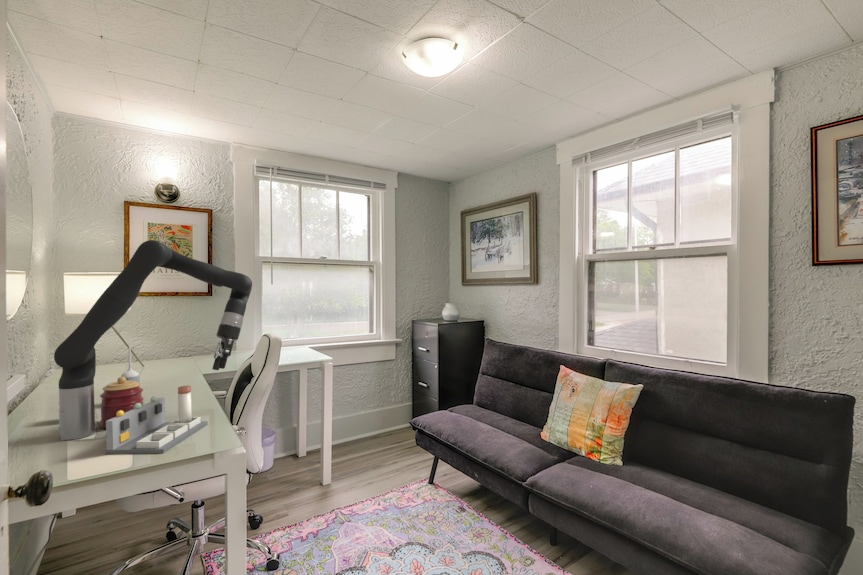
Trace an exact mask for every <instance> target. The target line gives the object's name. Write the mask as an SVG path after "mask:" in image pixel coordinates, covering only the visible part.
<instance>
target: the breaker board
mask: <svg viewBox="0 0 863 575" xmlns="http://www.w3.org/2000/svg"><path fill="white" fill-rule="evenodd" d="M134 407H135V409H132V410H130V411H128V412H126V413H124V412H123V411H122V410H120V411H118V412H117V413H116V417H114V418H112V419H109V420H107V421H106V429H105V435H106V439H105V440H106V449H105V451H104V454H105V455H121V454H122V455H123V454H124V455H127V454H131V455H132V454H164V453H166V452H168V451H170V450H171V449H172V448H174V447H176V446H177V445H179V444H180V443H182V442H183V441H185V440H186V439H188V438H189V437H191V436H192V435H194V434H196V433H197V432H199V431H200V430H201V429H203V428H205V427H206V426H208V423H209V422H208V421H205V420H203V421H201V418H202V417H201V416H192V421H191V422H190V423H179V418H177V419H176V420H174V421H166V419H167V418H166V398H165V397H157V396H154V395H153V396H152V397H150V401H149V402H147V403H145V404H144V403H143V405H141V403H136V404H135V406H134Z"/></svg>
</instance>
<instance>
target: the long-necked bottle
mask: <svg viewBox="0 0 863 575" xmlns="http://www.w3.org/2000/svg"><path fill="white" fill-rule="evenodd" d="M131 348H132V347H131V346H128V351H126V354H125V355H126V358H125V359H127V357H128V363H127V360H125V361H126V362H125V363H126V364H125V365H126V366H128V368H127V369H126V371H124V372H123V373H122V374H121V376H120V377H125V378H126V380H134V381H136V382H138V383H140V382H141V381H140V373H139V372H138V371H136V370H135V369H133V368H132V351H131V350H132V349H131ZM127 352H128V356H127ZM127 364H128V365H127ZM139 387H140V388H141V383H140V385H139Z"/></svg>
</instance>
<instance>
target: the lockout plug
mask: <svg viewBox="0 0 863 575" xmlns="http://www.w3.org/2000/svg"><path fill="white" fill-rule="evenodd" d="M177 400H178V401H177V404H178V408H177V409H178V411H177V412H178V419H179V423H190V422H191V421H192V417H193V416H192V386H191V385H182V386H178V387H177Z"/></svg>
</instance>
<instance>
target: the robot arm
mask: <svg viewBox="0 0 863 575" xmlns="http://www.w3.org/2000/svg"><path fill="white" fill-rule="evenodd" d="M157 267H159V268H165V269H169V270H172V271H173V270H174V271H177V272H180V273H183V274H185V275H188V276H189V277H192V278H194V279H196V280H199V281H202V282H204V283H207V284H209V285H212V286H215V287H219V288H221V287H226V288H228V289H231V290H230V294H229V299H228V300H227V302H226V305H225V308H224V311H223V313H222V317H221V319H220V321H219V325H218V329H217V332H216V337H218V338H219V339H221V340H220V342H217V346H216V349H215V352H214V355H213V358H214V361H213V365H212V368H211V370H213V371H214V370H215V371H219V370H220V369H221V370H222V369H223V370H224V369H225V367H226V364H227V362H228V361H227V360H228V359H229V358H230V357H231V354H232V350H233V346H234V343H235V341H238V340H239V337H240V334H241V330H242V327H243V322H244V316H245V314H246V309H247V303H248V301H249V298H250V295H251V292H252V289H253V288H252V287H253V281H252V279H251V278H250V277H249V276H247V275H246V274H244V273H240V272H236V271H232V270H225V269H224V268H221V267H219V266H216V265H213V264H211V263H208V262H205V261H200V260H198V259H195V258H191V257H189V256H186V255H183V254H181V253H179V252H177V251H176V250H174V249H172V248H170V247H168V246H167V244H165V243H163V242H162V241H158V240H156V239H155V240H154V239H153V240H152V239H150V240H146V241H144V242H142V243H140V245H139V246H138V247H137V249H136V250H135V251H134V254H132V257H131V258H130V260H129V262H127V265H126V266H125V267H124V269H123V270H122V271H121V272H119V274H118V275H117V276H116V277H115V279H114V280H113V281H112V282H111V284H109V286H108V287H107V288H106V289H105V290H104V291H103V292H102V294H101V295H100V296H99V297H98V298H97V299H96V301H95V303H94V304H93V305H92V307H91V308H90V310H89V311H88V312H87V313H86V314H85V316H84V318H83V320H82V321H81V322H80V324H78V326H77V327H76V328H75V329H74V330H73V331H72V332H71V333H70V334H69V335H68V337H66V338H65V340H63V341H62V342H61V343H60V344H59V345H58V346H57V347H56V349H55V350H54V354H53V359H54V362H55V364H56V365H57V366H59V367H60V368H61V369H62V371H61V375H60V378H59V379H58V406H59V408H58V422H59V439H60V441H61V442H62V441H69V440H70V441H71V440H77V439H82V438H85V436H86V437H89V436H91V435H93V434H95V433H96V419H95V418H96V416H95V414H96V413H95V410H96V409H95V376H96V365H97V363H96V361H97V360H96V358H97V356H96V355H97V354H96V347H95V346H96V344H97V343H98V341H99V340H100V338H102V336H103V335H104V334H105V333H106V332H107V331H109V330H110V329H111V328H112V327H113V326H114V325H116V323H118V321H120V320H121V318H123V317H124V315H125V314H126V313H127V312H128V310H129V309H130V308H131V307H132V305H133V304H134V303H135V301H136V300H137V297H138V296H139V294H140V291H141V289H142V287H143V285H144V282H145V281H146V279H147V278H148V277H149V276H150V274H151V273H152V272H153V271H154V270H155V269H156V268H157Z"/></svg>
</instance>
